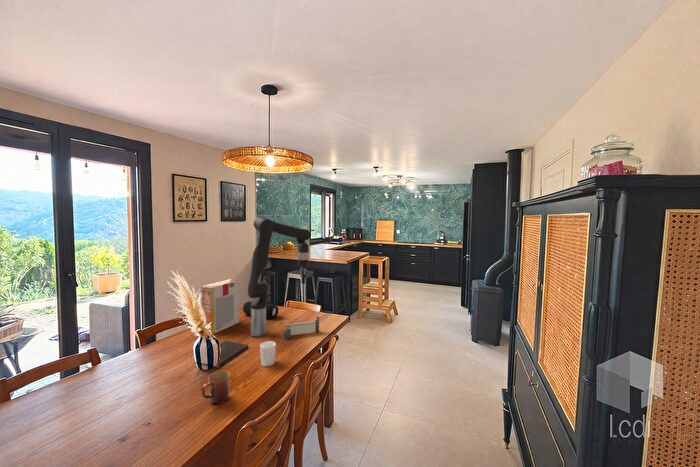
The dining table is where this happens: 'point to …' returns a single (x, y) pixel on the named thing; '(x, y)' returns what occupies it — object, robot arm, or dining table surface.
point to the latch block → (287, 334)
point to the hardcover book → (230, 351)
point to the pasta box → (221, 304)
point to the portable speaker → (270, 309)
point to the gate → (301, 327)
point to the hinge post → (317, 325)
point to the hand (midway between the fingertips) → (303, 283)
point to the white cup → (267, 353)
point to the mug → (217, 386)
